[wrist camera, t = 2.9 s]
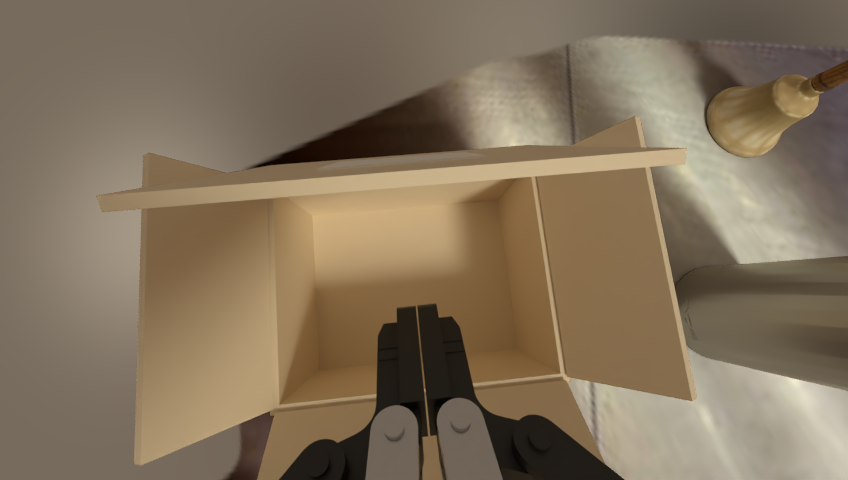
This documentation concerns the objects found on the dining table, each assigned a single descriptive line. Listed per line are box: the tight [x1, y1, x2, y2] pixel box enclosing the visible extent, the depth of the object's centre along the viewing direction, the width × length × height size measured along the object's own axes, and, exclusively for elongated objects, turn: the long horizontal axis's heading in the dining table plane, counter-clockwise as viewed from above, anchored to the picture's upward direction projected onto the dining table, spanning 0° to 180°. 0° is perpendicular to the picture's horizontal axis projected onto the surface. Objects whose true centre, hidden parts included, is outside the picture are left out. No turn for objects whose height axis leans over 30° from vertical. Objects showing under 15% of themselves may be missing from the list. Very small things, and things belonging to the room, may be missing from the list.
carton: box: [134, 116, 697, 480], centre depth 22 cm, size 28×26×20 cm
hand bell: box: [707, 60, 848, 157], centre depth 29 cm, size 8×8×16 cm
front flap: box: [96, 145, 687, 212], centre depth 17 cm, size 18×14×1 cm
